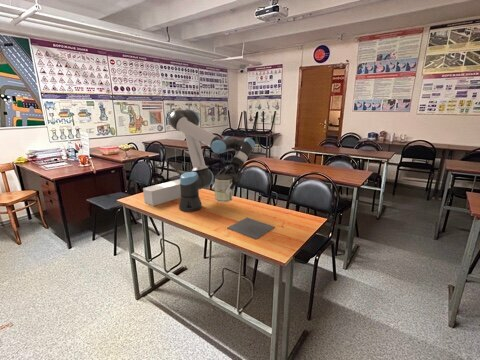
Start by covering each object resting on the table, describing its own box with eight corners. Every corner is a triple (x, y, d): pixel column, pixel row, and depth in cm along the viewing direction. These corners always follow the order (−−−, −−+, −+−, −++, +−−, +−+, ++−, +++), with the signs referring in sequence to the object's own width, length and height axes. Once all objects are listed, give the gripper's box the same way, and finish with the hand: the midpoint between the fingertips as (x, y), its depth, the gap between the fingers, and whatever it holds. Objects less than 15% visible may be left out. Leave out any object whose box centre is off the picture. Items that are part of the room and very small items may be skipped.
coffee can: (212, 197, 156) (212, 174, 153) (229, 195, 160) (229, 173, 156) (217, 203, 147) (217, 178, 143) (234, 201, 150) (235, 177, 147)
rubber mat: (227, 228, 147) (227, 227, 147) (247, 218, 161) (247, 217, 161) (256, 239, 135) (256, 238, 135) (275, 227, 149) (275, 226, 148)
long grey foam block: (152, 206, 180) (151, 191, 177) (144, 202, 187) (142, 188, 184) (189, 194, 203) (189, 181, 201) (181, 192, 210) (180, 179, 207)
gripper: (256, 167, 153) (237, 199, 145) (228, 161, 167) (209, 190, 159) (251, 159, 147) (231, 192, 140) (222, 154, 162) (202, 183, 154)
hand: (219, 191), depth 150 cm, fingers closed on coffee can, 10 cm apart
